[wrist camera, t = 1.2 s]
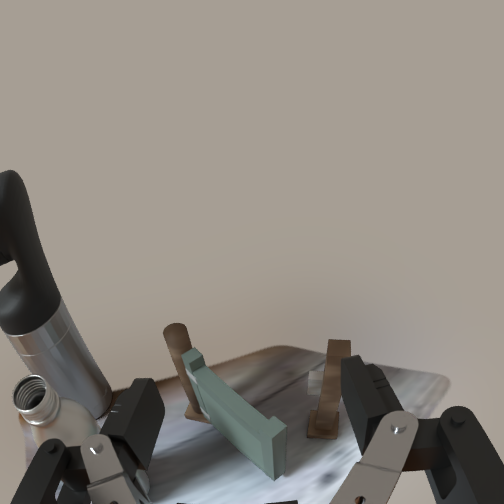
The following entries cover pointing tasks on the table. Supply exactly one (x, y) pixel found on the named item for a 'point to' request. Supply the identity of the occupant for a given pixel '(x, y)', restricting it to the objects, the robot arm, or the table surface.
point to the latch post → (327, 391)
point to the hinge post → (183, 366)
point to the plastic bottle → (56, 416)
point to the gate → (238, 418)
